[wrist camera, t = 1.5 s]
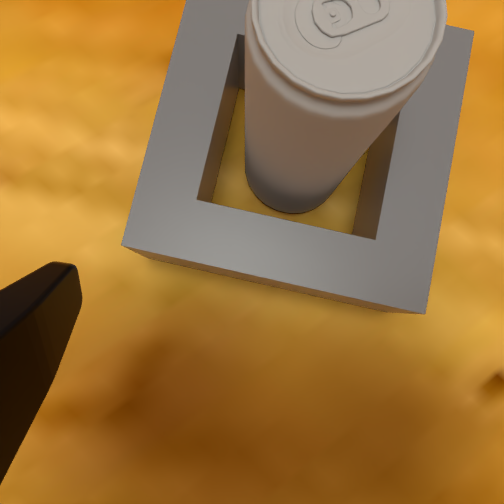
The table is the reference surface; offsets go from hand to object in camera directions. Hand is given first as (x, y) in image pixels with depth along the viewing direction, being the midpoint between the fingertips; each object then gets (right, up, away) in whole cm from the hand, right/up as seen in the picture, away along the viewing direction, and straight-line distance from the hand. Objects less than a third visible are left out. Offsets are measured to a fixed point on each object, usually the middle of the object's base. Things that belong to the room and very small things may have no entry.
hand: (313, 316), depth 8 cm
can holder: (+1, +5, +14) cm, 15 cm away
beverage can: (+1, +5, +14) cm, 15 cm away
